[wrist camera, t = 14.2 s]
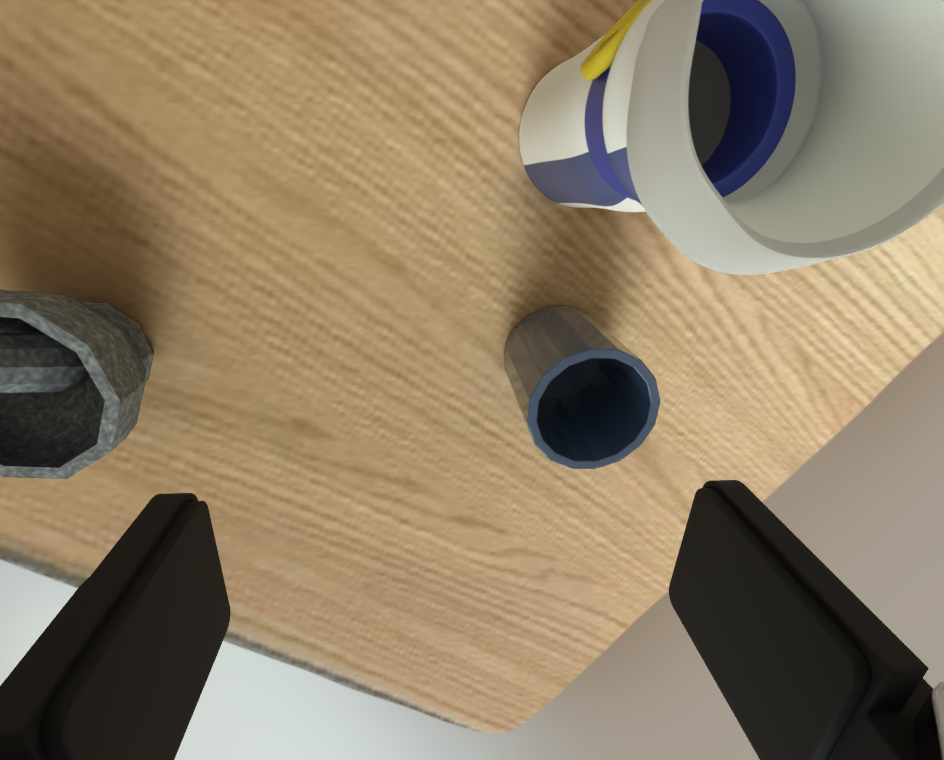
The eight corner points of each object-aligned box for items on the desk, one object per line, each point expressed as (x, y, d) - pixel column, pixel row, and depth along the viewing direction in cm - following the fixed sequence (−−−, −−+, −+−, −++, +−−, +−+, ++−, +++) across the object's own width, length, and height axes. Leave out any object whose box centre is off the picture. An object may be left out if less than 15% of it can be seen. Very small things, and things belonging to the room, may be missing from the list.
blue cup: (508, 303, 31) (535, 347, 23) (611, 307, 32) (672, 350, 24) (499, 400, 34) (521, 468, 26) (595, 401, 34) (645, 469, 26)
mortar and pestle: (213, 342, 30) (90, 439, 19) (138, 444, 33) (-10, 583, 22) (26, 217, 27) (-256, 248, 16) (-43, 342, 29) (-333, 445, 18)
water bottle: (476, 140, 27) (743, -40, 4) (591, 8, 25) (2285, -1705, 2) (573, 245, 30) (1057, 484, 7) (683, 133, 28) (1880, -58, 5)
